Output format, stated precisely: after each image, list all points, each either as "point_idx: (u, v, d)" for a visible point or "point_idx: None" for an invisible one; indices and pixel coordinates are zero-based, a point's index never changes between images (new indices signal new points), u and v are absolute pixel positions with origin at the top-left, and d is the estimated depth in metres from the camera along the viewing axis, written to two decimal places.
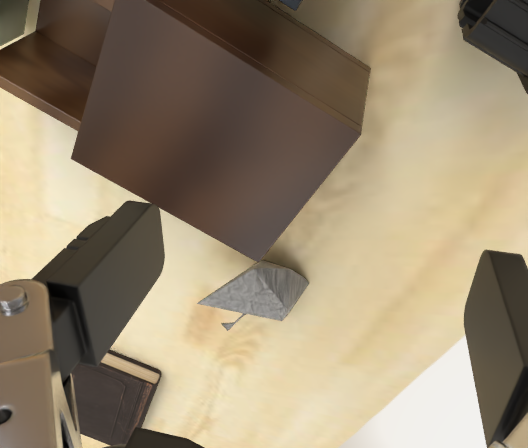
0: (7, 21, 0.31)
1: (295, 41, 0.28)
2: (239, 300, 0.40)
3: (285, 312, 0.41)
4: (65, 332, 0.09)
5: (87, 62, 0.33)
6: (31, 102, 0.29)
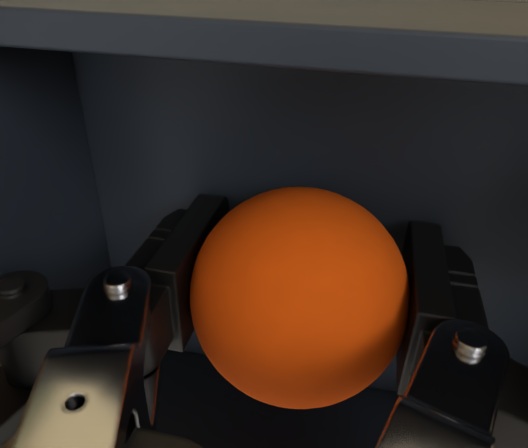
0: None
1: None
2: None
3: None
4: (161, 317, 0.09)
5: None
6: None
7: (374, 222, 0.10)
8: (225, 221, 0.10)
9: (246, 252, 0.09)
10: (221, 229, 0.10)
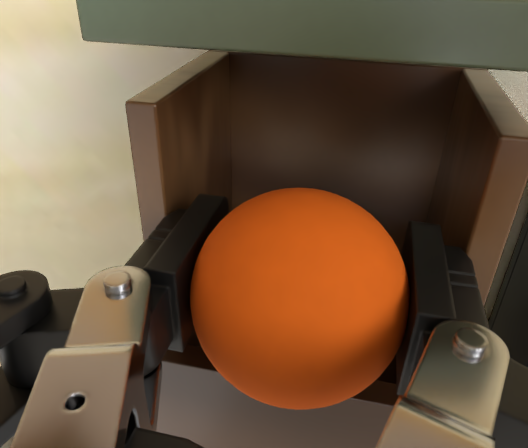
0: None
1: None
2: None
3: None
4: (161, 317, 0.09)
5: (230, 162, 0.18)
6: None
7: (374, 223, 0.10)
8: (225, 222, 0.10)
9: (246, 253, 0.09)
10: (221, 230, 0.10)
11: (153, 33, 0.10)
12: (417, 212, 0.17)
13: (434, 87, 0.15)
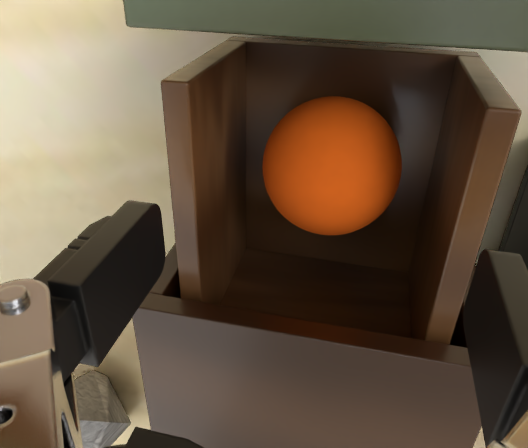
0: None
1: None
2: None
3: None
4: (66, 332, 0.09)
5: (245, 144, 0.19)
6: (177, 202, 0.14)
7: (379, 115, 0.15)
8: (287, 115, 0.16)
9: (303, 126, 0.15)
10: (285, 119, 0.16)
11: (188, 19, 0.11)
12: (416, 189, 0.19)
13: (432, 73, 0.17)
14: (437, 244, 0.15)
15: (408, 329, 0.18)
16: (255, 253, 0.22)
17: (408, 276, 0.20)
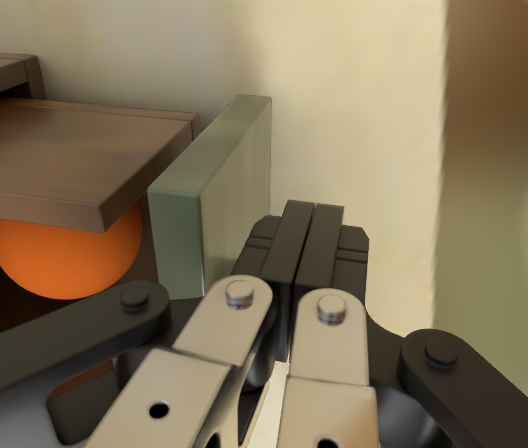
0: None
1: None
2: None
3: None
4: (276, 327, 0.09)
5: None
6: None
7: (119, 276, 0.16)
8: None
9: None
10: None
11: (164, 256, 0.11)
12: None
13: None
14: None
15: None
16: None
17: (8, 281, 0.21)
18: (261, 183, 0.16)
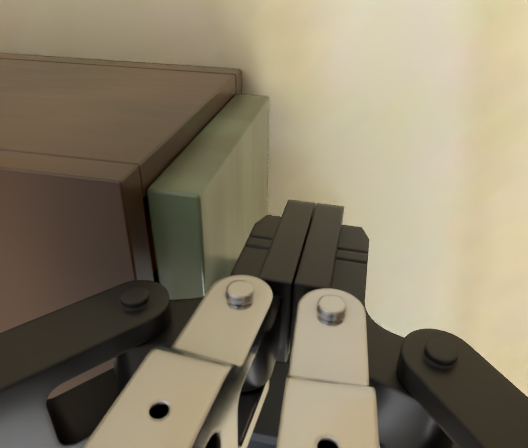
0: None
1: None
2: None
3: None
4: (276, 327, 0.09)
5: None
6: None
7: None
8: None
9: (144, 197, 0.15)
10: None
11: (164, 256, 0.11)
12: None
13: None
14: None
15: None
16: None
17: None
18: (259, 182, 0.16)
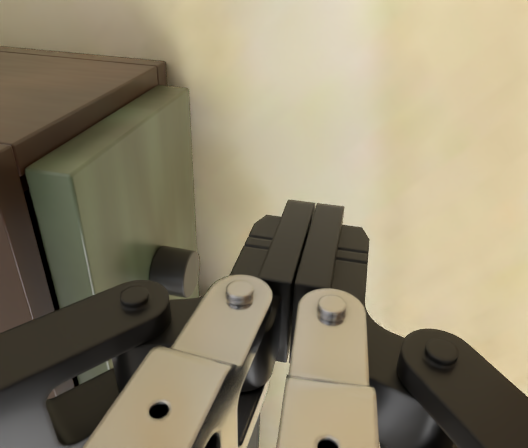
0: None
1: None
2: None
3: None
4: (276, 327, 0.09)
5: None
6: None
7: None
8: None
9: None
10: None
11: (48, 234, 0.11)
12: None
13: None
14: None
15: None
16: None
17: None
18: (177, 171, 0.16)
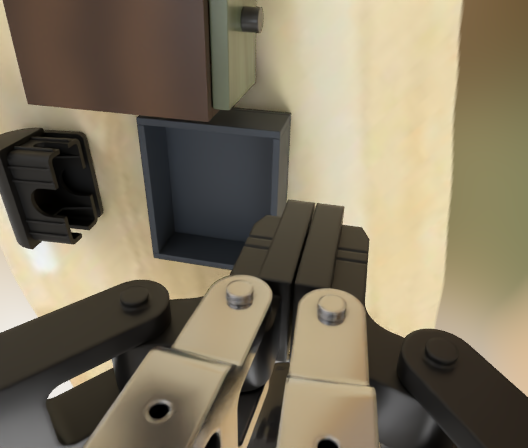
0: None
1: None
2: None
3: None
4: (276, 327, 0.09)
5: None
6: None
7: None
8: None
9: None
10: None
11: None
12: None
13: None
14: None
15: None
16: None
17: None
18: None
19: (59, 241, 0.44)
